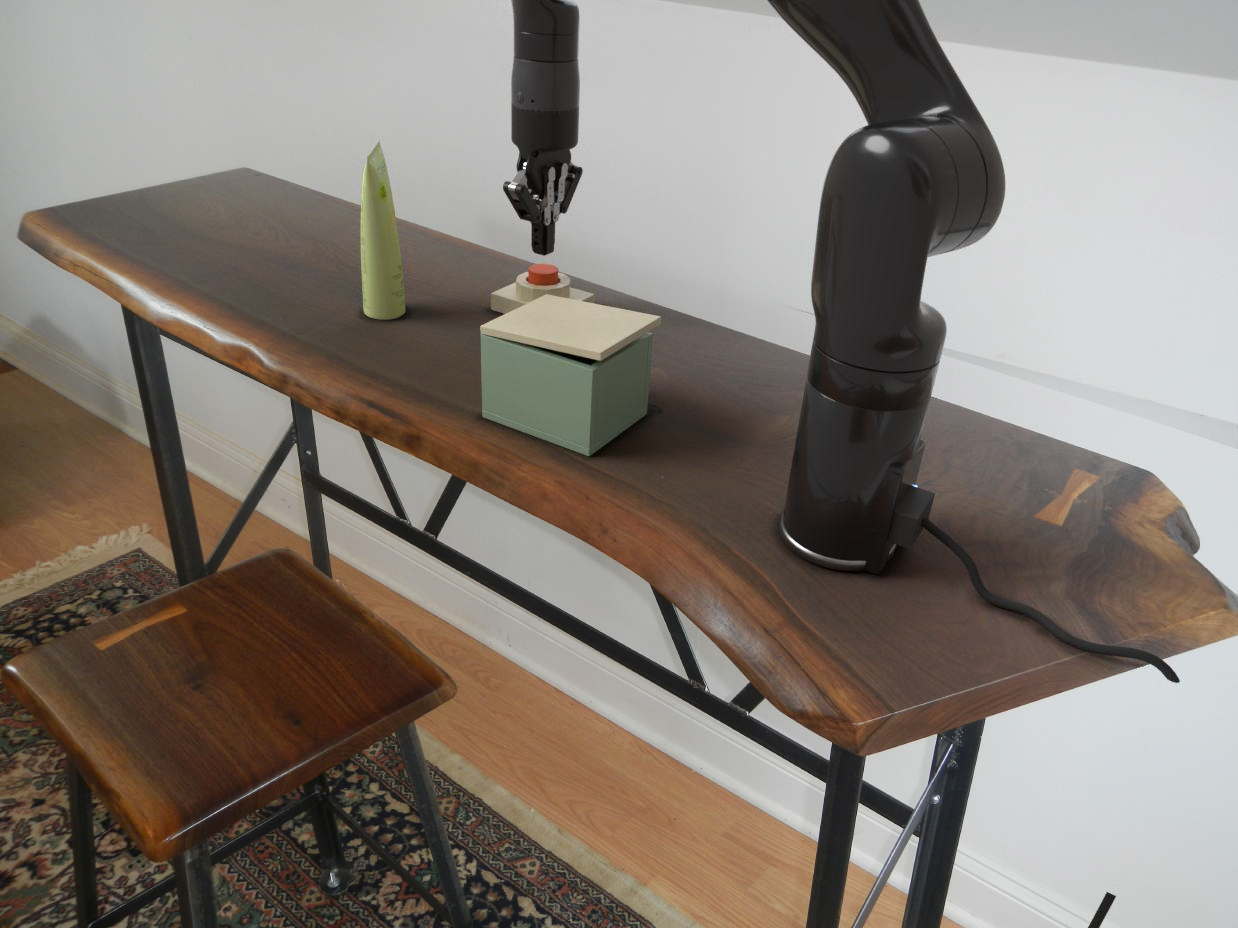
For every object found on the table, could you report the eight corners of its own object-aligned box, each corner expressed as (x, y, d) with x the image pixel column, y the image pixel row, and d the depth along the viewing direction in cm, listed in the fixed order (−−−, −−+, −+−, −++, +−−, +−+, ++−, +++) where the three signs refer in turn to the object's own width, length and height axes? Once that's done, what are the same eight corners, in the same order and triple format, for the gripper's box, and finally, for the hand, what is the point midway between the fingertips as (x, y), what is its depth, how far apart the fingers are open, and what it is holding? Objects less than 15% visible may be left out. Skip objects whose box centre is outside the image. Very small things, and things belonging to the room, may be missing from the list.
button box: (594, 310, 119) (595, 280, 117) (557, 330, 113) (558, 298, 111) (529, 292, 123) (529, 262, 121) (490, 310, 117) (490, 279, 115)
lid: (661, 324, 91) (661, 316, 90) (600, 361, 83) (600, 352, 82) (546, 301, 97) (546, 294, 97) (480, 334, 89) (479, 325, 89)
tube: (417, 316, 115) (407, 149, 104) (380, 326, 111) (366, 155, 101) (391, 302, 118) (379, 139, 108) (354, 311, 115) (338, 144, 105)
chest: (647, 414, 96) (653, 333, 92) (589, 456, 88) (592, 370, 84) (545, 380, 102) (546, 302, 97) (482, 417, 94) (480, 334, 89)
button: (563, 282, 117) (564, 268, 116) (546, 290, 114) (546, 276, 113) (540, 275, 119) (540, 261, 118) (522, 283, 116) (522, 269, 115)
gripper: (537, 115, 99) (535, 274, 108) (606, 98, 109) (599, 246, 118) (480, 104, 102) (483, 260, 111) (552, 89, 112) (549, 233, 121)
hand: (543, 252), depth 115 cm, fingers closed
